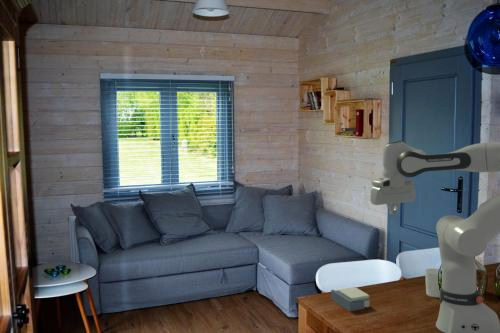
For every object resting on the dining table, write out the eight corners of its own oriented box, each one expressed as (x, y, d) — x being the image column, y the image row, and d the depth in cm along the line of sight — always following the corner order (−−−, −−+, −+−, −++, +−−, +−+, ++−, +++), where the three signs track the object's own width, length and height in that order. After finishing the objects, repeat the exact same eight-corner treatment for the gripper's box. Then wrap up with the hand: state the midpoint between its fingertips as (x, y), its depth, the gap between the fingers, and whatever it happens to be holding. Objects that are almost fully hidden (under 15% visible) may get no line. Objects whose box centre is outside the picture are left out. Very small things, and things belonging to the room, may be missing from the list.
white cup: (422, 291, 209) (422, 268, 208) (441, 291, 209) (441, 268, 208) (428, 298, 202) (428, 274, 200) (447, 298, 201) (448, 274, 200)
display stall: (344, 296, 205) (344, 287, 205) (364, 309, 192) (364, 299, 192) (331, 299, 203) (331, 289, 202) (349, 311, 190) (349, 301, 189)
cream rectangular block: (354, 298, 204) (354, 286, 203) (369, 307, 194) (369, 295, 194) (337, 301, 201) (337, 289, 200) (351, 310, 191) (351, 298, 191)
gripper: (409, 178, 209) (408, 210, 211) (368, 181, 202) (368, 214, 204) (419, 179, 203) (418, 212, 205) (377, 183, 196) (377, 217, 198)
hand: (393, 213), depth 204 cm, fingers closed
